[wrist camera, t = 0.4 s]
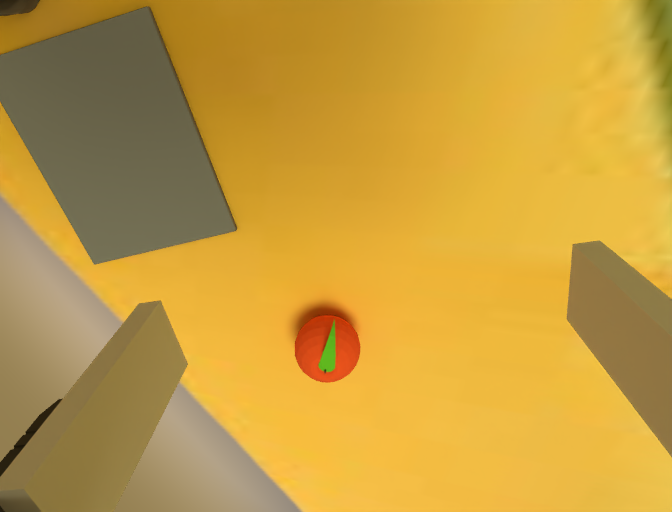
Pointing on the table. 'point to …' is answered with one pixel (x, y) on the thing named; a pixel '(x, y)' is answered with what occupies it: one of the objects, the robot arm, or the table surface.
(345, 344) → the clementine
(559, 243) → the table surface
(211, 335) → the table surface
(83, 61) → the mat
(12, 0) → the beverage cup
